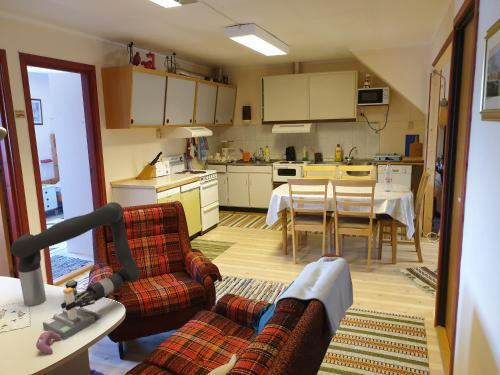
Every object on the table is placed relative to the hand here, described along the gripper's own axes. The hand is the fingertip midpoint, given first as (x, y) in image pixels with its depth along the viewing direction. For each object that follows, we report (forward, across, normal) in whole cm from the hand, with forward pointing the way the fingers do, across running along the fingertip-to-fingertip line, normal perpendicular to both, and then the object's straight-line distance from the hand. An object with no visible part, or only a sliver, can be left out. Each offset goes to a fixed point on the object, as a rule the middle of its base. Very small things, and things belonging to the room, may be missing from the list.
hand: (64, 307), depth 153 cm
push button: (-16, -21, +11) cm, 29 cm away
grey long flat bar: (-12, -3, +11) cm, 17 cm away
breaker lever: (-3, 0, +8) cm, 8 cm away
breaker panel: (-3, -3, +11) cm, 12 cm away
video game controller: (+10, +3, +11) cm, 15 cm away
